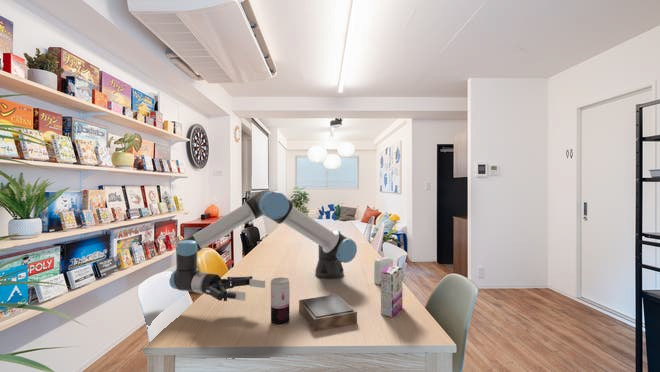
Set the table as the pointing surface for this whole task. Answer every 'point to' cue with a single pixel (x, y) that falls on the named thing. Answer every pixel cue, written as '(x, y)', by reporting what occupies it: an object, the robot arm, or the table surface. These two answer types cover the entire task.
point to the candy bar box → (391, 290)
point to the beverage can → (280, 301)
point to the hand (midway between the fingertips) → (255, 290)
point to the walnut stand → (327, 312)
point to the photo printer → (381, 268)
